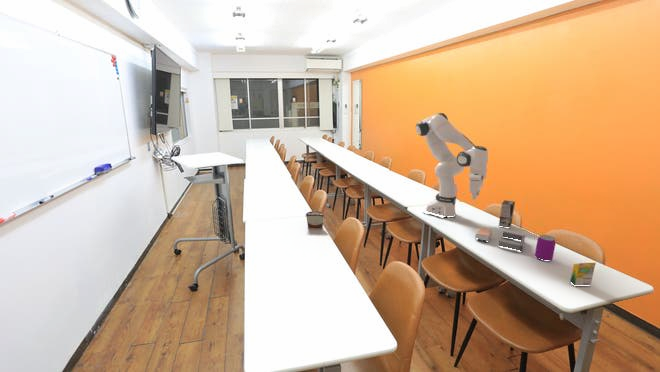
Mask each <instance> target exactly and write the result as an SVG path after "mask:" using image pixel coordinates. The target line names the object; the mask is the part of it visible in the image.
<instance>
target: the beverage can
mask: <svg viewBox="0 0 660 372" xmlns="http://www.w3.org/2000/svg"><path fill="white" fill-rule="evenodd" d="M555 248H556V240H555V237H553V236H552V235H548V234H540V235H539V237H538V238H537V241H536V247H535V250H534V251H535V252H534V257H535V256H536V257H537V258H540V259H543V260H551V261H552V260H553V259H554V253H555ZM536 257H535V258H536ZM537 258H536V259H537Z"/></svg>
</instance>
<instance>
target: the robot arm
mask: <svg viewBox="0 0 660 372" xmlns="http://www.w3.org/2000/svg"><path fill="white" fill-rule="evenodd" d="M415 130H416V133H417V135H419V136H420V137H424V139H425V141H426V142H425V143H426V144H427V146H428V148H429V150H430V153H431V154H432V156H433V158H434V159H436V160H437V161H438V162H440V163H438V164H437V165H436V166H435V168H434V173H435V176H437V178H438V183H439V190H438V193H437V194H436V195H435V197H434V198H435V199H433V200H431V201H429V202H428V203H427V205H426V211H428V212H432V213H435V214H439V215H443V216H454V215H456V216H457V214H456V203H457V202H456V201H457V196H456V195H457V184H456V183H455V179H454V177H455V176H457V175H459V174H460V173H462V172H463V171H464V169H465V167H468V168H469V176H468V180H469V193H470V194H471V195H472V200H476V199H477V197H479V196H480V193H481V192H480V191H481V189H482V188H483V186H484V179H486V178H487V172H488V169H487V164H488V163H489V160H488V159H489V151H488V149H487V148H486V147H485V146H481V145H475V144H474V143H473V142H472V141H471V140H470V139H469V138H468V137H467V136H466V135H465V134H463V133H462V132H460V131H459V129H457V128H455V126H454V125H452V123H451V122H450V121H449V119H448V116H447V115H446V113H443V112H438V113H436V114H433V115H430V116H428V117H426V118H424V119H422V120H420V121H418V122H417V123H416V125H415ZM446 143H451V144H454V145H458V146H459V147H461V149H463V151H460V152H459V153H457V155H456V156H455V155H454V154H453V152H452V151H451V150H450V148H449V146H448V145H447V144H446Z"/></svg>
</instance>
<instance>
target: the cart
mask: <svg viewBox="0 0 660 372" xmlns="http://www.w3.org/2000/svg"><path fill="white" fill-rule="evenodd" d="M476 231H477V232H476V233H475V237H474V238H478V239H482V240H481V241H483V240H486V241H488V242H489V241H490V239H491V237H492V236H493V235H492V233H493V230H492V229H488V228H483V227H479V228H478V230H476Z"/></svg>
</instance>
